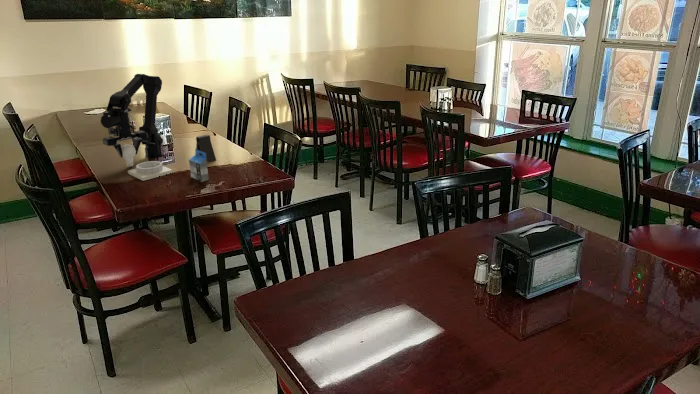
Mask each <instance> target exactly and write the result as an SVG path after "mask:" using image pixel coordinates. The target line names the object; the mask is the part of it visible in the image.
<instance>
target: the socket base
mask: <svg viewBox="0 0 700 394" xmlns="http://www.w3.org/2000/svg"><path fill="white" fill-rule="evenodd" d="M170 173H171V174H173V169H171V168H169V167H166V166H164V165H163V162H161V161H159V160H150V161H149V160H148V161H144V162H143V161H142V162H139V163H138V164H136V165H135V168H132V169H129V170H127V174H129V175H130V176H132V177H133V178H136V179H138V180H140V181H142V182H144V181H147V180H152V179H155V178H159V176H160V177H163V176H166V174H167V175H171V174H170Z"/></svg>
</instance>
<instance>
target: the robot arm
mask: <svg viewBox="0 0 700 394" xmlns="http://www.w3.org/2000/svg"><path fill="white" fill-rule="evenodd" d="M162 84H163V80H162V79H161V77H160V76H158V75H147V74H145V73H136V74H134V76H133V78H132V79H131V80H130V81H129V82H127V84H126V85H125V86H124V87H123V88H122V89H121V90H119V91H117V92H116V91H115V92H114V93H113V94H111V95H110V96H109V99H108V102H107V107H106V111H103V112H102V116H101V117H100V124H101V126H102V127H104V128H106V129H107V132H108V135H109V136H106V137H103V138H102V144H103V145H105V146H107V147H108V146H109V147H111V146H112V147H113V148H114V149H115V151H116V153H117V154H118V156H119V157H120V158H121V159H122V158H123V156H122V150H121V147H122V146H121V145H122V144H121V143H119V142H123V141H128V140H132V142H133V143H132V144H133V147H134V148H135V150H136V154H135V155H137V154H138V152H139V149H140V146H141V145H142V146H143V145H144V147H145V148H144V151H145V155H144V156H145V157H146V158H149V159H154V158H160V157H162V156H163V157H164V154H162V148H161V145H162V144H163V143H164V139H163V138H162V137H161V136H160V135H159V130H158V128H157V126H156V119H157V118H156V117H157V116H156V115H157V101H158V94H160V92H161V90H162ZM141 87H142V89H143V90H144V92H145V107H144V118H143V119H144V120H143V125H142V126H139V127H138V130H137V131H134V132H132V126H133V125H132V124H131V121H130V115H129V112H131V111H132V109H131V108H130V107H129V106H130V105H131V102H132V98H133V96H134V95H135V94H136V93H137V92H138V91H139V90H140V89H141ZM114 127H115V128H114ZM112 135H113V136H112Z"/></svg>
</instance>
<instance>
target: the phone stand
mask: <svg viewBox="0 0 700 394" xmlns="http://www.w3.org/2000/svg"><path fill="white" fill-rule="evenodd" d="M195 140H196V146H195V149H196V150H199V151H202V152H204V153H206V160H207V163H210V162H213V161H217V158H216V155H215V151H214V147H213V144H212V140H211V135H210V134H204V135H198V136H196V138H195ZM199 154H200V155H202V154H201V153H199ZM202 156H203V155H202Z"/></svg>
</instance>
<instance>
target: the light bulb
mask: <svg viewBox="0 0 700 394" xmlns="http://www.w3.org/2000/svg"><path fill="white" fill-rule="evenodd" d="M121 150H122V158H123V159H124V161H125V163H126V166H127V167H128V168H132V167H134V160H135V159H134V158H135V156H136V155H137V154H136V150H135V148H134V145H132V144H129V143H127V144H124V145H122V146H121Z"/></svg>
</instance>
